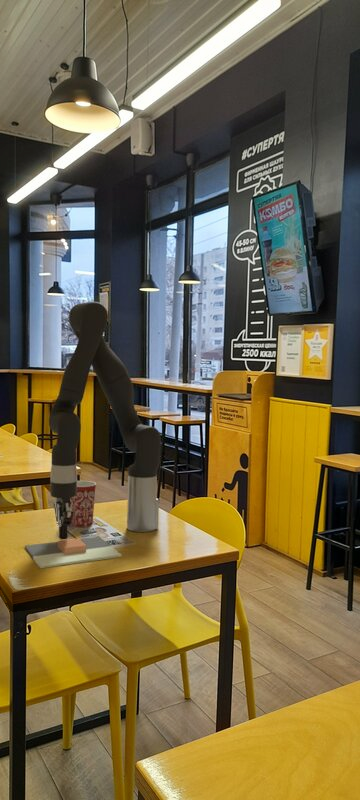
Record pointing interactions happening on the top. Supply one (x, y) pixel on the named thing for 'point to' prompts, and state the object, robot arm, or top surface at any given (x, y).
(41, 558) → the mat
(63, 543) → the tile
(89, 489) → the mug
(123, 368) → the robot arm
